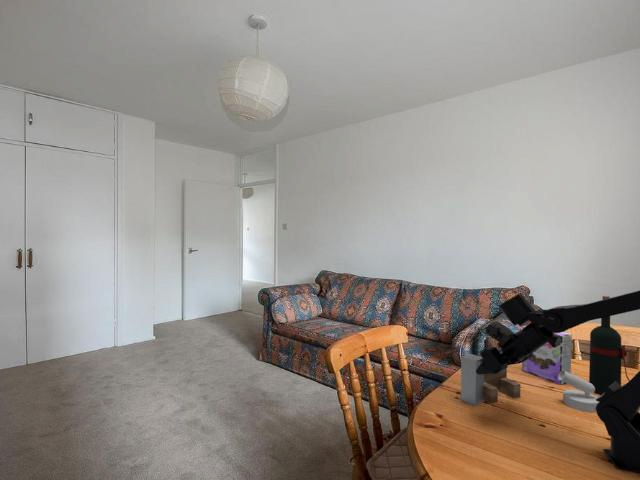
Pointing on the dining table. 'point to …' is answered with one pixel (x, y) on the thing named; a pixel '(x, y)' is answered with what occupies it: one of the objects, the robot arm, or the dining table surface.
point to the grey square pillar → (471, 380)
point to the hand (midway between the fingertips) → (485, 369)
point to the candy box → (551, 359)
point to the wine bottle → (605, 356)
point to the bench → (499, 386)
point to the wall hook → (578, 393)
